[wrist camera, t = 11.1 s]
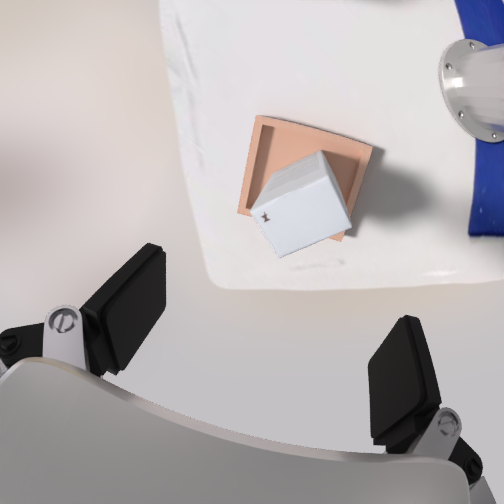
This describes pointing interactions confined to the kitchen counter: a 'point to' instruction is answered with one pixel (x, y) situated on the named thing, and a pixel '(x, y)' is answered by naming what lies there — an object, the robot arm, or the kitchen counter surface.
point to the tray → (295, 148)
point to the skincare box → (301, 205)
